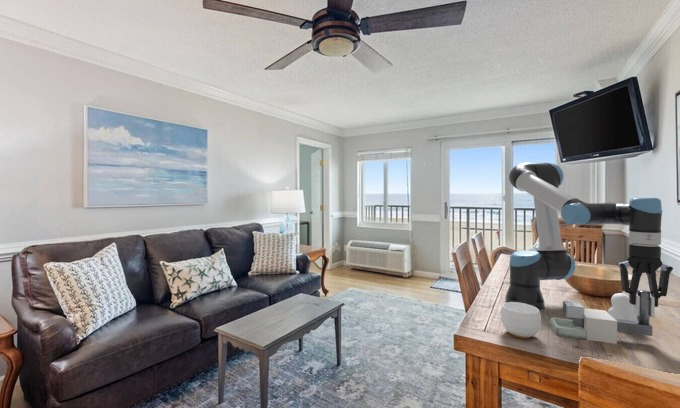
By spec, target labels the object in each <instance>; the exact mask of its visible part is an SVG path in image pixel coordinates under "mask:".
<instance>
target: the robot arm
mask: <svg viewBox="0 0 680 408" xmlns="http://www.w3.org/2000/svg"><path fill="white" fill-rule="evenodd" d="M508 181H509V183H510V185H512V186H513V187H514V188H515V189H516V190H518V191H519V192H526V193H527V194H529V195H531V196H533V204H534V211H535V219H536V228H537V229H536V230H537V237H538V247H537V248H536V249H535V250H518V251H514V252H511V255H510V257H509V287H508V288H507V291H506V294H505V303H507V302H518V303H525V304H528V305H532V306H534V307H536V308H538V309H539V310H542V309H544V308H545V307H546V306H545V299H544V297H543V293H542V290H541V281H555V280H557V281H561V280H567V279H569V278H571V277H572V276H573V275H574V273H575V271H576V261H575V259H574V258H573V256H572V255H571V254H569V253H568V252H567V248H566V247H564V246H563V244H562V237H561V227H560V221H559V215H558V214H559V213H560V217H561V219H563V221H564V223H566V224H567V225H573V226H582V225H583V226H586V225H623V226H625V225H626V226H628V229H629V230H628V232H629V233H628V242H629V243H630V244H628V258H627V259H626V260H625V261H623V262H621V261H619V262H617V264H616V265H617V267H618V268H619V273H620V274H619V275H620V281H621V282H620V283H621V284H620V285H621V290H622V291H623V292H625V294H629V295H628V296H629V302H630V303H631V304H632V305H633V313H634V314H635V315H636V316H639V308H640V296H638V295H637V291H638V290H639V285H640V281H641V277H642V276H643V274H646V277H647V283H648V286H649V292H650V318H655V308H658V307H659V299H660V298H661V297H666V296H667V294H668V289H669V288H668V287H669V281H670V276H671V273H672V272H673V270H674V267H673V266H671V265H667V264H664V263H663V262H662V259H661V257H662V247H661V246H660V245H661V244H662V216H663V207H662V200H661V199H660V198H657V197H631V198H629V202H628V203H625V202H623V203H622V202H621V203H620V202H619V203H618V202H601V203H600V202H598V203H597V202H593V203H588V202H585V201H582V200H581V199H579V198H577V197H575V196H573V195H572V194H571V193H570V194H569V193H567V192H565V190H562V189H560V188H559V187H560V186H561V185H562V184H563V181H564V173H563V170H562V169H561V167H560V166H559V165H557V164H556V163H552V162H523V163H519V164H516V165H514V167H512V169H511V170H510V172H509V175H508ZM629 266H630V267H631V269H632V271H631V273H632V275H631V280H630V281H629V279H630V278H629V271H628V269H629ZM658 269H660V274H659V281H658V283H657V271H658Z"/></svg>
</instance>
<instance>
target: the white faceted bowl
mask: <svg viewBox="0 0 680 408" xmlns="http://www.w3.org/2000/svg"><path fill="white" fill-rule="evenodd" d="M500 320H501V324H502V326H503V328H504V329H505V330H506V331H507V332H508V333H510V334H511V335H512V336H514V337H515V338H520V339H529V338H530V337H531V338H532V337H534V336H537V334H538V333H539V332H540V329H541V326H542V315H541V311H540V309H538V308H536V307H534V306H532V305H528V304H525V303H518V302H504V303H502V306H501V309H500Z"/></svg>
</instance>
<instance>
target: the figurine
mask: <svg viewBox="0 0 680 408" xmlns="http://www.w3.org/2000/svg"><path fill="white" fill-rule="evenodd" d="M610 303H611V307H610V308H609V309H607V313H608V314H610V315H611V316H612V317H613V318H614V319H622V320H630V321H637V316H636V315H635V314H634V313H633V305H632V304H631V303H630V302H629V295H627V294H626V293H619V292H618V293H614V294H613V295H612V296H611V299H610Z"/></svg>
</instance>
